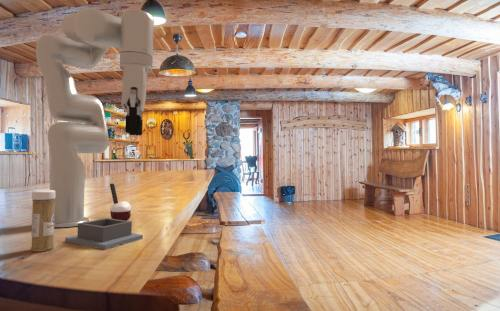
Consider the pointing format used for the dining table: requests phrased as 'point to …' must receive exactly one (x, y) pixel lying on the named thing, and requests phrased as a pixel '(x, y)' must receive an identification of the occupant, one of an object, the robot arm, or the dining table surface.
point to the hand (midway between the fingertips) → (134, 134)
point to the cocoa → (119, 207)
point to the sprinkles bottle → (43, 220)
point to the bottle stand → (104, 233)
